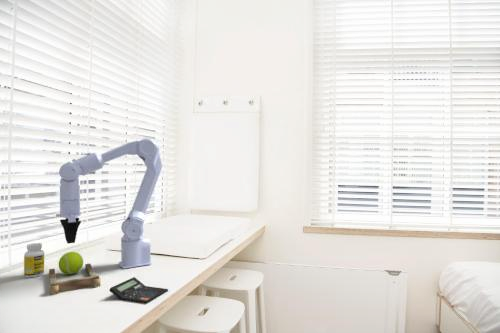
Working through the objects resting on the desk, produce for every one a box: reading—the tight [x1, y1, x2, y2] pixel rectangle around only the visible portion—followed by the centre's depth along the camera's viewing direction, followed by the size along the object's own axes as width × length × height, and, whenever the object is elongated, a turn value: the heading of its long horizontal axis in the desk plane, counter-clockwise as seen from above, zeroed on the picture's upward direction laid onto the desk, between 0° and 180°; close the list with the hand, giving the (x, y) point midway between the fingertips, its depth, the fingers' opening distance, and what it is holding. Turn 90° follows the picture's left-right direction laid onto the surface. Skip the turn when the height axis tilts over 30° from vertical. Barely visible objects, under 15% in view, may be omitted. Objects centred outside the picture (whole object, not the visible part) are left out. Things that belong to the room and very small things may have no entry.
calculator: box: [109, 276, 169, 305], centre depth 92 cm, size 9×12×3 cm
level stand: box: [48, 263, 101, 296], centre depth 104 cm, size 12×22×2 cm, turn 32°
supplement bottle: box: [23, 242, 45, 279], centre depth 109 cm, size 5×5×10 cm
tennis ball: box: [58, 251, 84, 276], centre depth 110 cm, size 7×7×7 cm
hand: (70, 241), depth 112 cm, fingers open, 4 cm apart
